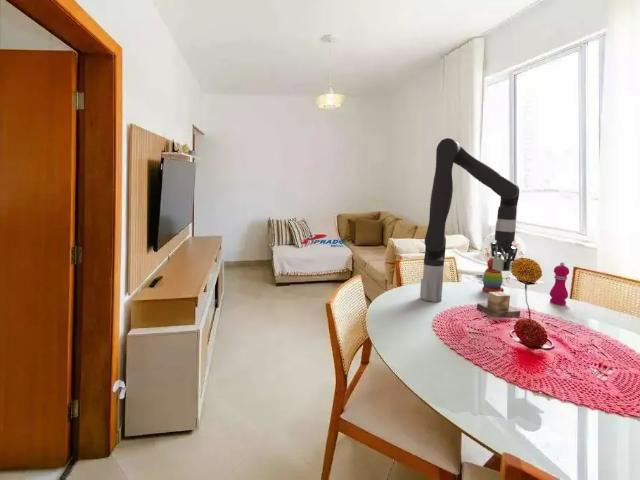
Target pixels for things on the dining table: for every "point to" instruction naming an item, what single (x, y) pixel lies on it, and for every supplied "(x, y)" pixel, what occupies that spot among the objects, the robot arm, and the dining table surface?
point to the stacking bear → (492, 279)
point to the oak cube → (498, 300)
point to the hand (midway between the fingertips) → (501, 268)
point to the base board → (498, 312)
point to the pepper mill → (559, 285)
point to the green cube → (499, 264)
